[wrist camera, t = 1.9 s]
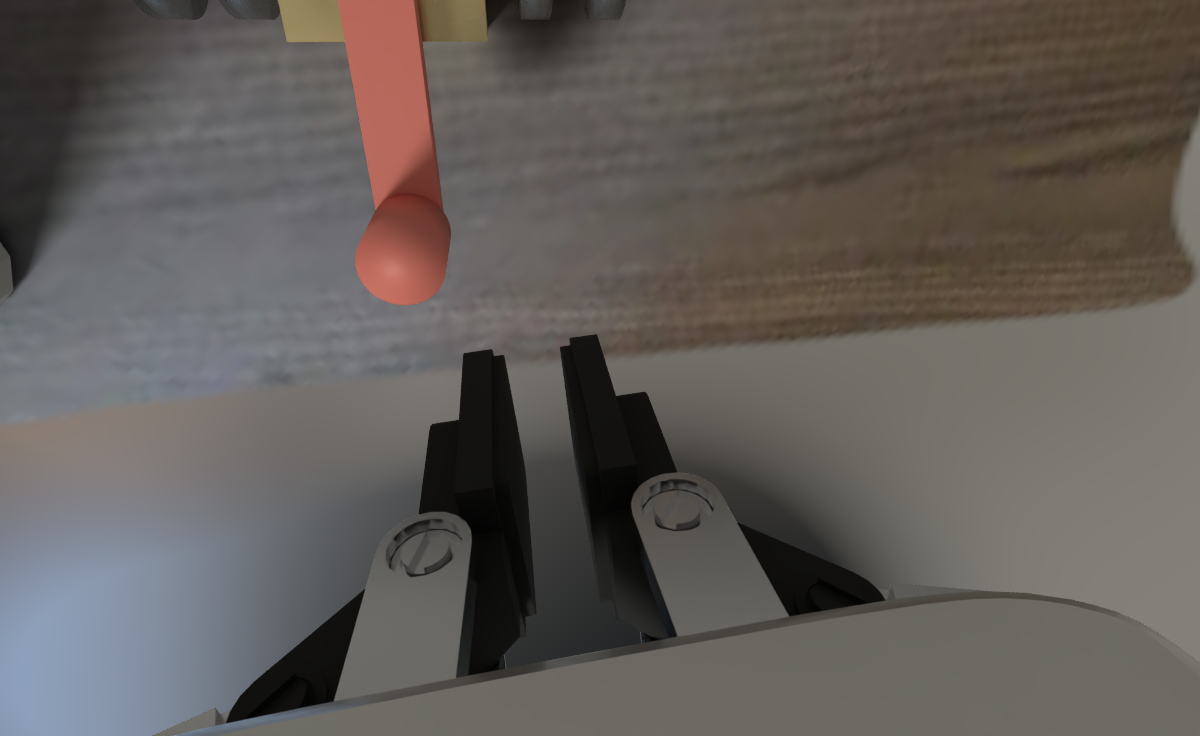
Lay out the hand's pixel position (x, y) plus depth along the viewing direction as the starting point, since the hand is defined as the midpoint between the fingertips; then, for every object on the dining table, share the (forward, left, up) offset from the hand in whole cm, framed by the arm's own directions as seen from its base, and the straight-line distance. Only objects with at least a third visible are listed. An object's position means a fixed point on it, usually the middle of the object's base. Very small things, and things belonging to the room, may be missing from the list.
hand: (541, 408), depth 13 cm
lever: (+4, -4, -16) cm, 17 cm away
